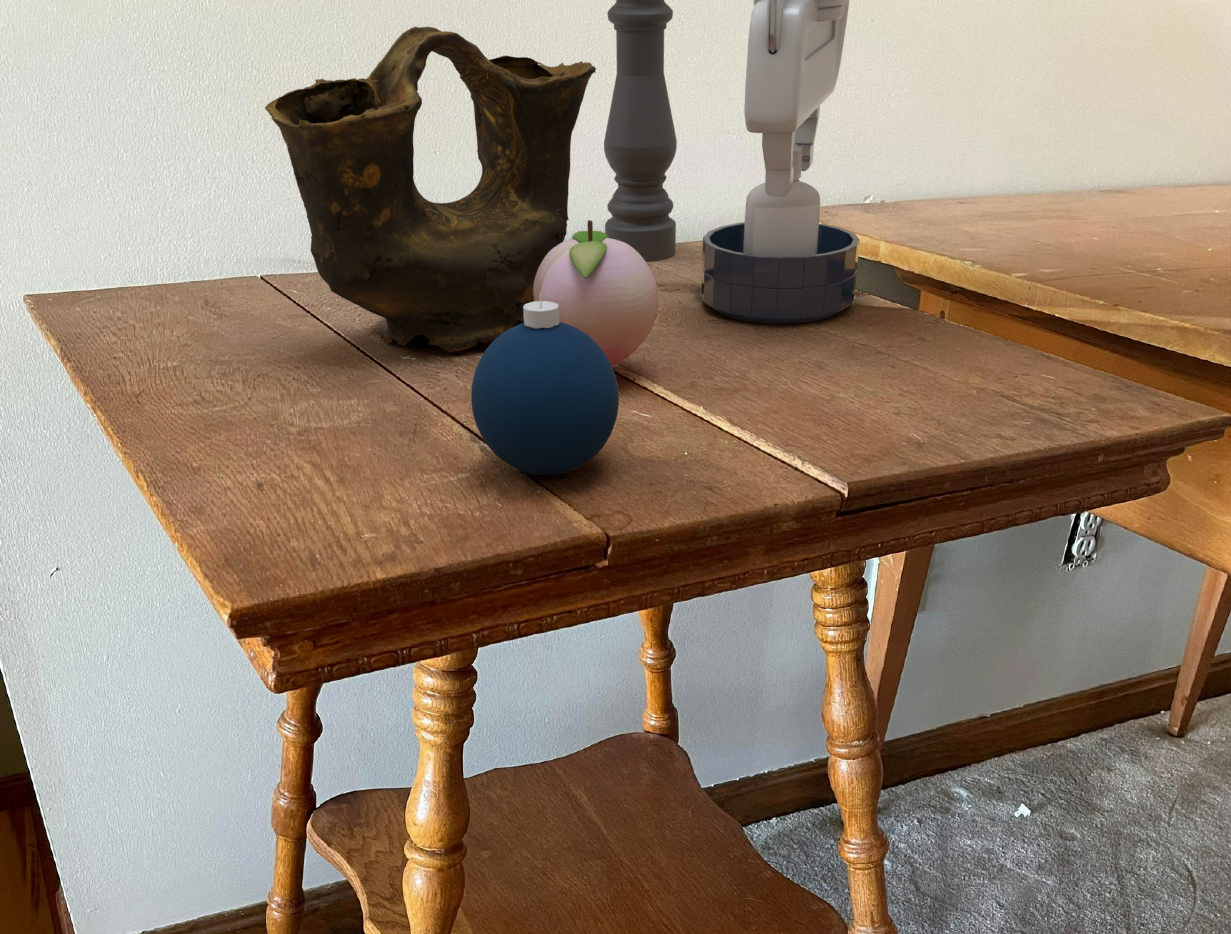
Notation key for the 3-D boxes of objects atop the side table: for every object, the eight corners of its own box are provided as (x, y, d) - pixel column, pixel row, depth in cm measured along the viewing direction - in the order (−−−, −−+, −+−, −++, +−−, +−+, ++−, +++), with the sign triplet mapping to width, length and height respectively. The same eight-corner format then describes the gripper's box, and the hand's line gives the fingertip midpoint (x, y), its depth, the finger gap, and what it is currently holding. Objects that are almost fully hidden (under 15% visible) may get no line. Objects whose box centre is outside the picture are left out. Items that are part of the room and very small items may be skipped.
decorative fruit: (669, 394, 85) (671, 233, 79) (547, 402, 84) (540, 240, 78) (643, 351, 92) (643, 202, 86) (532, 358, 91) (524, 207, 85)
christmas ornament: (625, 495, 71) (623, 311, 65) (476, 501, 71) (461, 317, 65) (613, 441, 78) (611, 269, 72) (477, 446, 78) (463, 274, 71)
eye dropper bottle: (805, 307, 98) (818, 134, 91) (735, 301, 100) (743, 130, 93) (817, 292, 102) (831, 124, 94) (750, 287, 103) (758, 121, 96)
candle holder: (595, 269, 110) (587, -81, 95) (619, 252, 115) (616, -85, 100) (662, 275, 109) (665, -82, 93) (684, 257, 113) (690, -85, 98)
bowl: (861, 289, 104) (868, 224, 101) (841, 332, 95) (847, 261, 92) (719, 281, 107) (721, 217, 104) (686, 321, 98) (687, 252, 95)
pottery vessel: (545, 287, 106) (532, 7, 94) (630, 315, 99) (629, 17, 87) (279, 352, 93) (225, 37, 81) (357, 388, 86) (311, 51, 74)
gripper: (824, -29, 78) (809, 213, 87) (864, -49, 94) (848, 157, 102) (724, -28, 80) (719, 210, 88) (780, -48, 95) (771, 156, 104)
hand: (789, 181), depth 95 cm, fingers open, 8 cm apart
